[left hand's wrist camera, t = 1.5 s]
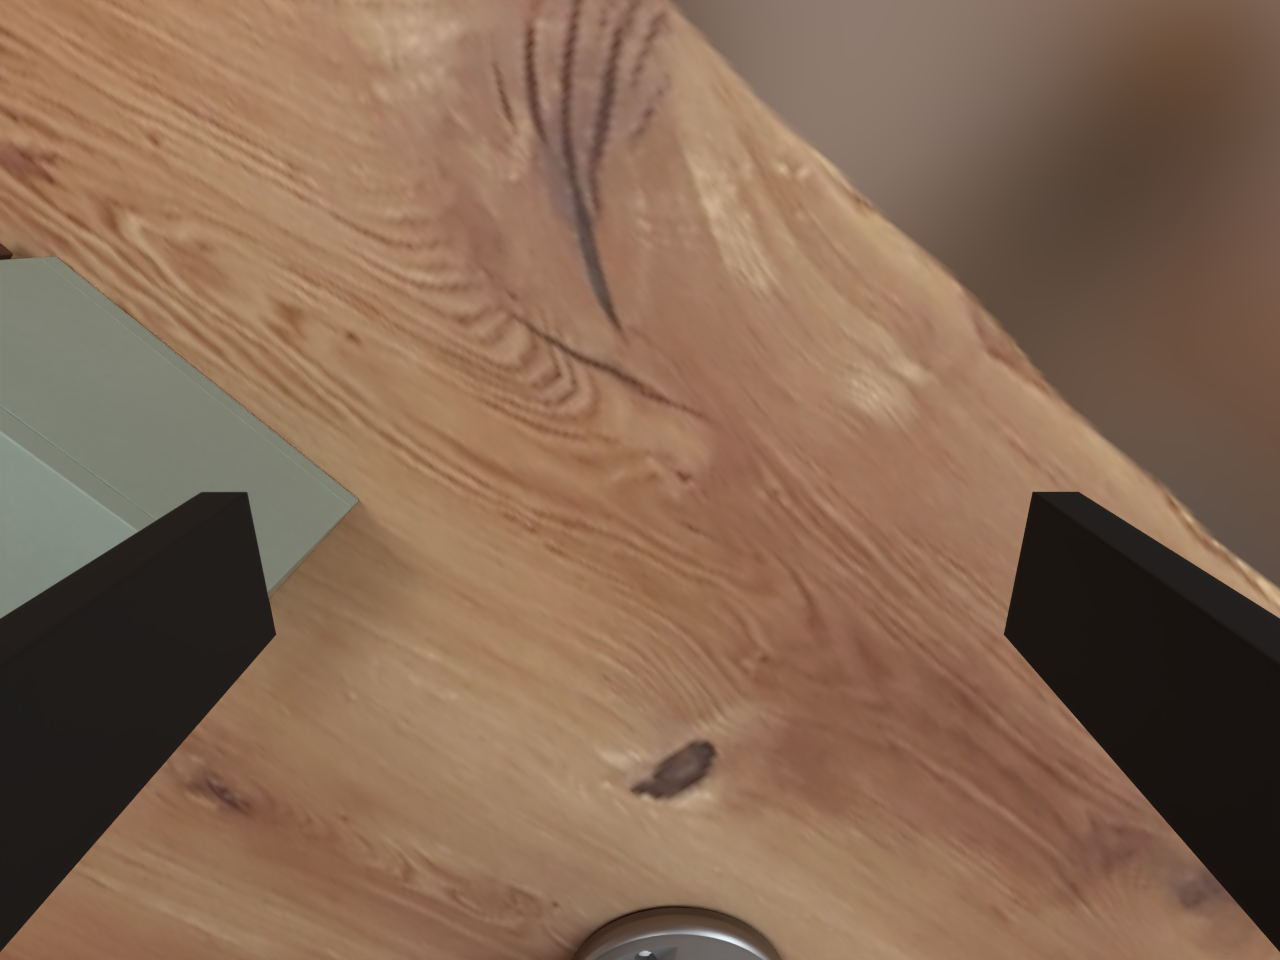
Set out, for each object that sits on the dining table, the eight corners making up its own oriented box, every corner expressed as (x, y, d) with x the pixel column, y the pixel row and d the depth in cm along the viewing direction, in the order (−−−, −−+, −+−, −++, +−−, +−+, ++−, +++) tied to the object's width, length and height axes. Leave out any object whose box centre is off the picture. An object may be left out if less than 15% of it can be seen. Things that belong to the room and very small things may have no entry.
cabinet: (-46, 408, 36) (-334, 489, 25) (55, 255, 33) (-217, 274, 23) (249, 620, 40) (108, 766, 29) (359, 499, 37) (248, 611, 27)
